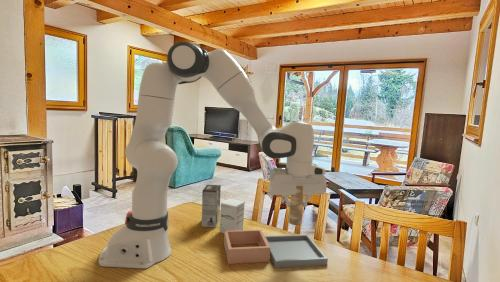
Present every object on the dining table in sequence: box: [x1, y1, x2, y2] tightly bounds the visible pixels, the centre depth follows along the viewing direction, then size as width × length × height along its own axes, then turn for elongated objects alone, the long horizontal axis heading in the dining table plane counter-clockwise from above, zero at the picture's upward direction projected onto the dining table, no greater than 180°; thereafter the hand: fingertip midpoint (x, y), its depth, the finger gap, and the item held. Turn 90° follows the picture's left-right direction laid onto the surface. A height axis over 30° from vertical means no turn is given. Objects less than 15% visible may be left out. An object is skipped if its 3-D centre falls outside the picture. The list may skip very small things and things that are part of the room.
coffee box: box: [201, 184, 222, 229], centre depth 125 cm, size 9×6×16 cm
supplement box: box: [219, 198, 245, 234], centre depth 118 cm, size 7×7×13 cm
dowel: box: [288, 186, 304, 226], centre depth 102 cm, size 4×4×14 cm
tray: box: [264, 234, 329, 269], centre depth 104 cm, size 18×18×2 cm
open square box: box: [223, 229, 271, 265], centre depth 103 cm, size 14×14×5 cm
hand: (296, 206), depth 102 cm, fingers closed on dowel, 4 cm apart
